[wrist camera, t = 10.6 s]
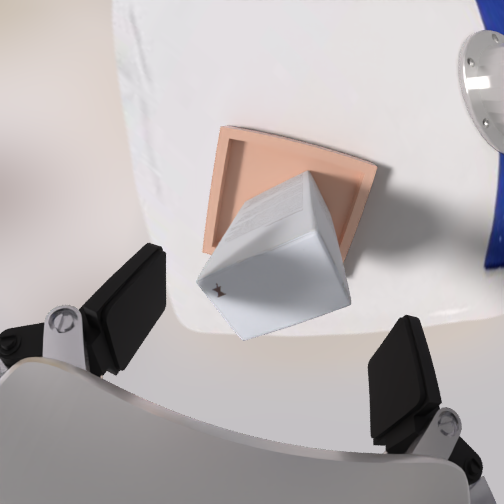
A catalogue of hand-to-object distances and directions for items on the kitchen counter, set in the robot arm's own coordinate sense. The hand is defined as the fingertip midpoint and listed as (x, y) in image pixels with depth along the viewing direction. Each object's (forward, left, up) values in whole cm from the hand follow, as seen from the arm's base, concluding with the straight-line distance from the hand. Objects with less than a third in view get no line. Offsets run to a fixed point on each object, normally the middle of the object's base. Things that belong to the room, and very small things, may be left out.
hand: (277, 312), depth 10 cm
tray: (+1, +1, -15) cm, 14 cm away
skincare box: (0, +1, -14) cm, 14 cm away
